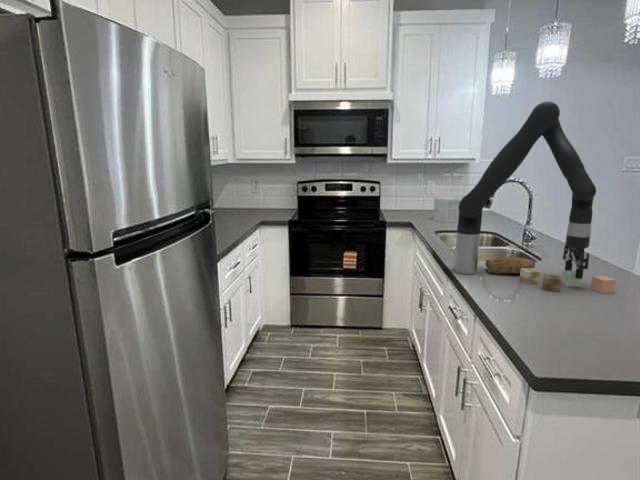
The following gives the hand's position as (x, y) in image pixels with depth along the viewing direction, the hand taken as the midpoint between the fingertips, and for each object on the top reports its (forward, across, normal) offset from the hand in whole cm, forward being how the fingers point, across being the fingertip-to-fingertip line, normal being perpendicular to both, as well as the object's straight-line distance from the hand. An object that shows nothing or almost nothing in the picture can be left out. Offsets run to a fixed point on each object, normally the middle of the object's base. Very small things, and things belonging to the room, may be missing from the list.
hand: (573, 274), depth 149 cm
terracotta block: (+4, +6, +8) cm, 11 cm away
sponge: (+4, -14, -19) cm, 23 cm away
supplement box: (+3, -139, -25) cm, 141 cm away
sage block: (+4, 0, 0) cm, 4 cm away
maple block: (+4, -1, -15) cm, 16 cm away
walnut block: (+4, +7, -10) cm, 13 cm away
